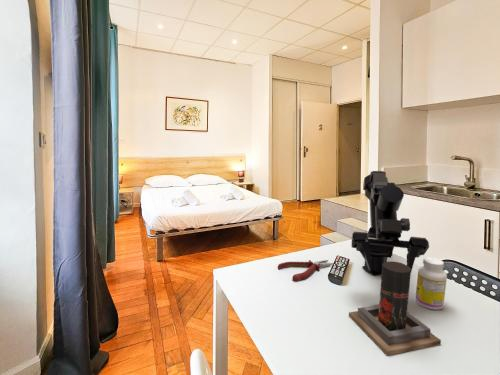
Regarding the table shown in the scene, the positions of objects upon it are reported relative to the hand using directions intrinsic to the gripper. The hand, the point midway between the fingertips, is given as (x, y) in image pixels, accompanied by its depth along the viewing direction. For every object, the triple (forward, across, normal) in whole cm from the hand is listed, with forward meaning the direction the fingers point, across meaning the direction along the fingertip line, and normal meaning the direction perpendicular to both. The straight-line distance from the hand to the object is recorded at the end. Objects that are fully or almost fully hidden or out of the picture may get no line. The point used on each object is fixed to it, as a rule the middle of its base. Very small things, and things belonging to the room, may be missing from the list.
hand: (389, 273), depth 72 cm
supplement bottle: (+3, +12, +13) cm, 18 cm away
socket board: (+13, 0, +2) cm, 13 cm away
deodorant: (+12, 0, +2) cm, 13 cm away
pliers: (-4, -22, +20) cm, 31 cm away
